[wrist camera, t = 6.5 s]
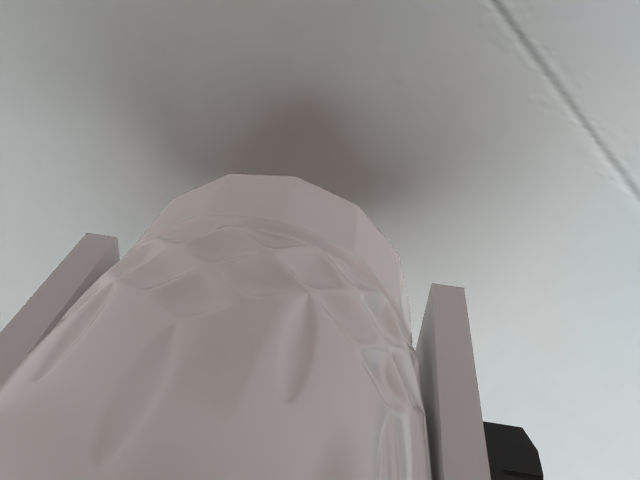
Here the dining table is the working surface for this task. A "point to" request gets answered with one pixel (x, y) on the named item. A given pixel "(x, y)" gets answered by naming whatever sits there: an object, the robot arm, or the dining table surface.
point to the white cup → (230, 351)
